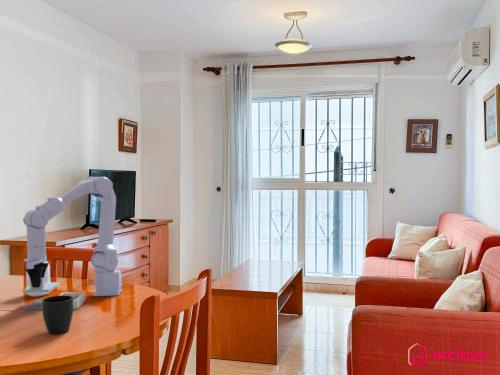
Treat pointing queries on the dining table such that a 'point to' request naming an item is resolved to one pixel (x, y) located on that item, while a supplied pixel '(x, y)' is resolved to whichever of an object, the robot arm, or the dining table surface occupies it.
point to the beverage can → (47, 279)
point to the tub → (76, 298)
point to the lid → (41, 287)
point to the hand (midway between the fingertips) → (37, 286)
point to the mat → (35, 305)
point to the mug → (57, 313)
